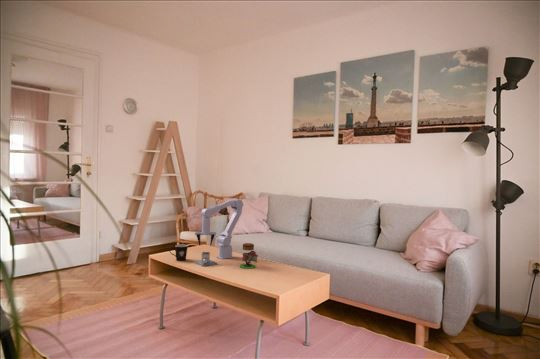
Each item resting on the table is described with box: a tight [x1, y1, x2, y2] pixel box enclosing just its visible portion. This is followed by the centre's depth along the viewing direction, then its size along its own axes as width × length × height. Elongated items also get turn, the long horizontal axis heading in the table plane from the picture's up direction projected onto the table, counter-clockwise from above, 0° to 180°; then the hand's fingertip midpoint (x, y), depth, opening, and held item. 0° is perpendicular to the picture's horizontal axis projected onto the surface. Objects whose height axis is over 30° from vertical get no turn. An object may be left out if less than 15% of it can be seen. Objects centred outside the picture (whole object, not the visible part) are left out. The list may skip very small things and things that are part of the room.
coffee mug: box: [169, 243, 189, 262], centre depth 250 cm, size 12×9×10 cm
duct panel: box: [193, 259, 218, 267], centre depth 243 cm, size 11×12×4 cm
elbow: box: [201, 251, 211, 264], centre depth 241 cm, size 10×5×6 cm, turn 7°
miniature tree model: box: [239, 242, 259, 270], centre depth 238 cm, size 12×13×15 cm
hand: (205, 245), depth 252 cm, fingers open, 7 cm apart
